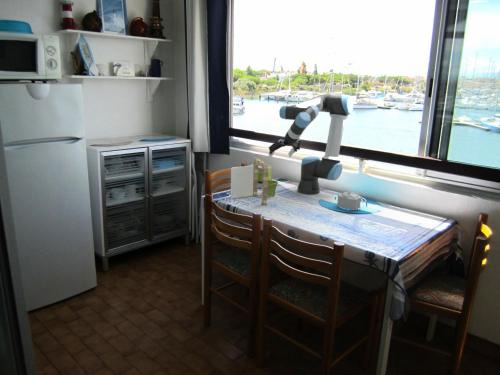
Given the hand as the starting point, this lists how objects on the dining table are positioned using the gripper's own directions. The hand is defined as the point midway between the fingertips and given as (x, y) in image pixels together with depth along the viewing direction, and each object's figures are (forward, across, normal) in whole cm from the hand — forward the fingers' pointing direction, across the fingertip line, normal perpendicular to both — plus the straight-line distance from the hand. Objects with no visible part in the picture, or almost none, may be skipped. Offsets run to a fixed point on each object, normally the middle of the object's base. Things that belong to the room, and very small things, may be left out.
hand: (279, 155), depth 245 cm
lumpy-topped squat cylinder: (0, +33, -39) cm, 51 cm away
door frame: (+22, -11, -17) cm, 30 cm away
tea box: (+41, +2, +2) cm, 41 cm away
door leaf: (+27, -20, -11) cm, 35 cm away
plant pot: (+27, 0, -12) cm, 30 cm away
